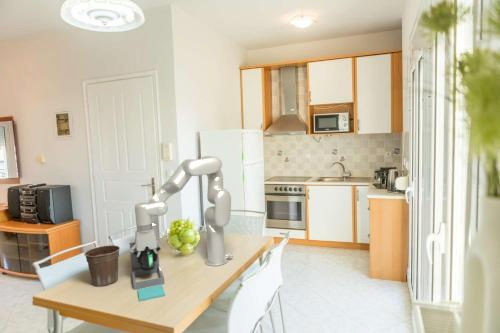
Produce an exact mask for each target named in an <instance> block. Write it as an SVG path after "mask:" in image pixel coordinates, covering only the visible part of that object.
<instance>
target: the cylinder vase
mask: <svg viewBox="0 0 500 333" xmlns="http://www.w3.org/2000/svg"><path fill="white" fill-rule="evenodd" d="M159 220H160V219H159V216H152V223H153V224H155V226H154V227H153V228H154V230H155V234H156V239H158V241H159V242H161V238H160V224H159V223H160V221H159ZM158 247H159V245H158Z"/></svg>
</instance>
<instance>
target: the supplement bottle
mask: <svg viewBox="0 0 500 333" xmlns="http://www.w3.org/2000/svg"><path fill="white" fill-rule="evenodd" d="M144 250H145V251H141V253H140V257H141V269H142V270H143V271H149V270H152V269H154V268H155V256H154V250H153V249H152V250H149V247H148V246H146V247H145V249H144Z"/></svg>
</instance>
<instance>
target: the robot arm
mask: <svg viewBox="0 0 500 333" xmlns="http://www.w3.org/2000/svg"><path fill="white" fill-rule="evenodd" d="M222 167H223V162H222V160H221V158H219V157H218V156H210V155H206V156H205V155H204V156H202V157H201V158H199V159H198V158H197V159H191V158H187V159H185V160H183V161H182V162H181V163H180V164H179V166H178V167H177V168H176V169H175V171H174V172H173V173H172V174H171V176H170V178H169V179H168V180H167V181H166V182H165V183H164V184H162V185H161V186H160V187H159V188H158V189H157V190H156V191H155V193H154V194H153V195H152V196H151V198H150V199H149V200H148V202H147V201H145V202H138V203H136V204H135V205H134V214H135V223H136V224H135V225H136V230H135V231H134V242H135V244H134V245H133V246H132V248H131V249H130V248H129V253H130V252H132V253H133V254H134V255H136V256H137V259H138V263H139V264H140V265H141V257H140V253H141V251H145V250H144V249H145V247H146V246H148V247H149V250H152V249H153V250H154V256H155V262H157V261H156V259H158V257H157V253H158V254H159V252H160V250H161V249H162V247H163V246H164V245H163V243H162V242H161V241H160V242H159V241H157V240H156V234H155V230H154V228H153V227H154V226H155V224H153V223H152V216H158V217H161V216H164V215H166V214H167V213H168V210H169V206H168V204H167V203H166V202H167V200H168V199H169V198H170V197H172V196H173V195H175V194H177V193H179V192H181V191H182V190H183V189H184V187H185V186H186V185H187V184H188V182H189V181H190V180H191V178H192V177H199V176H204V175H206V176H207V195H206V197H207V201H208V202H209V203H210V204H213V205H214V206H212V205H211V206H209V207H207V208H206V210H205V211H204V214H203V218H204V224H205V231H206V250H207V258H206V259H205V261H204V264H206V265H207V266H209V267H210V266H211V267H218V266H223V265H225V264H227V263H228V258H233V257H234V254H233V253H229V252H228V253H226V252H225V240H224V239H225V238H224V236H225V235H224V233H225V232H224V227H226V226H227V225H228V224H229V222H230V219H231V210H232V196H231V193H230V192H229V190H227V189H225V188H224V176H223V172H222ZM157 244H158V245H159V247H158V248H157ZM135 248H136V250H137V252H135V251H134V249H135ZM156 248H157V249H156Z"/></svg>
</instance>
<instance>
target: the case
mask: <svg viewBox="0 0 500 333" xmlns="http://www.w3.org/2000/svg"><path fill="white" fill-rule="evenodd" d="M156 240H157V241H158V239H156ZM134 244H135V241H133V242H129V250H130V249H131V248H132V246H133V245H134ZM157 248H158V244H157ZM157 248H156V249H157ZM134 251H135V252H137V250H136V248H135V249H134ZM129 254H130V266H131V278H132V284H133V290H138V289H143V288H148V287H153V286H158V285H164V284H165V277H164V274H163V272H162V269H161V266H160V258H159V252H158V253H157V257H158V259H156V261H157V262H155V268H154V269H152V270H149V271H143V270H142V269H141V265H140V264H139V263H138V259H137V256H136V255H134V254H133V253H132V252H130V251H129ZM154 273H155V274H156V273H158V276H159V277H157V278H151V279H146V280H140V281H136V277H137V276H138V277H139V276H144V275H150V274H154Z"/></svg>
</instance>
